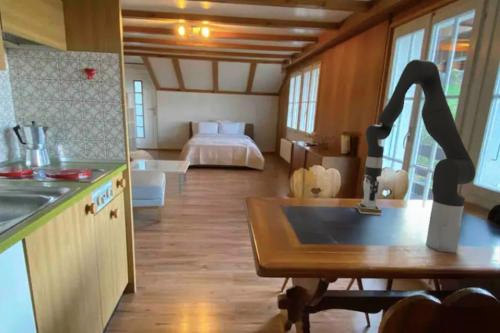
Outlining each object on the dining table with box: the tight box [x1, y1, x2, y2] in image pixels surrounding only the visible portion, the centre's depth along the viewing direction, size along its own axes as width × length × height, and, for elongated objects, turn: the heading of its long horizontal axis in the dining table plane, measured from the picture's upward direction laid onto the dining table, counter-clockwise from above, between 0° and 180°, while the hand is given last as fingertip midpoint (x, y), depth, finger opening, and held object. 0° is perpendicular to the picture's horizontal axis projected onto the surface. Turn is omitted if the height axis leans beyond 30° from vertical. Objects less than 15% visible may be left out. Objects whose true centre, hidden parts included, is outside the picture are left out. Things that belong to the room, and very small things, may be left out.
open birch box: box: [356, 202, 382, 216], centre depth 141 cm, size 9×10×2 cm
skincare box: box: [362, 181, 378, 208], centre depth 139 cm, size 6×4×12 cm
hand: (369, 198), depth 140 cm, fingers closed on skincare box, 6 cm apart
